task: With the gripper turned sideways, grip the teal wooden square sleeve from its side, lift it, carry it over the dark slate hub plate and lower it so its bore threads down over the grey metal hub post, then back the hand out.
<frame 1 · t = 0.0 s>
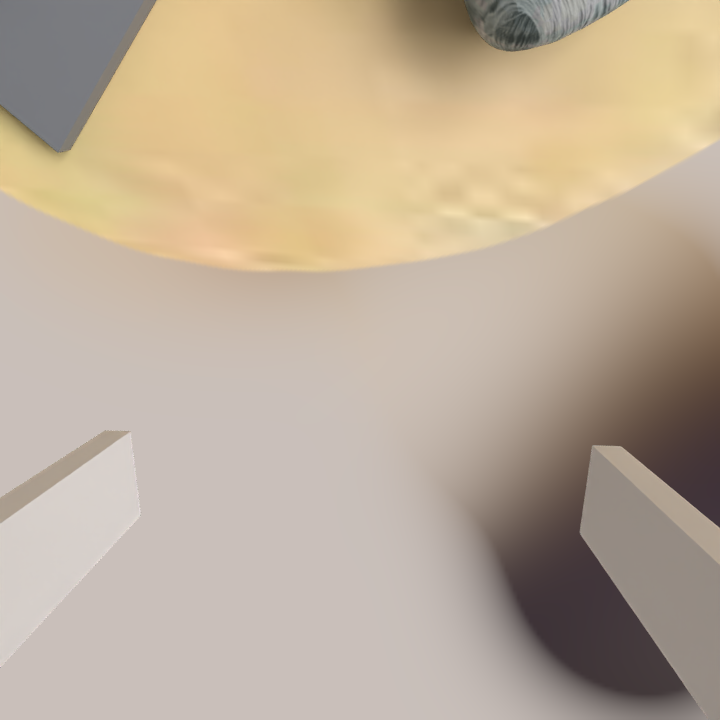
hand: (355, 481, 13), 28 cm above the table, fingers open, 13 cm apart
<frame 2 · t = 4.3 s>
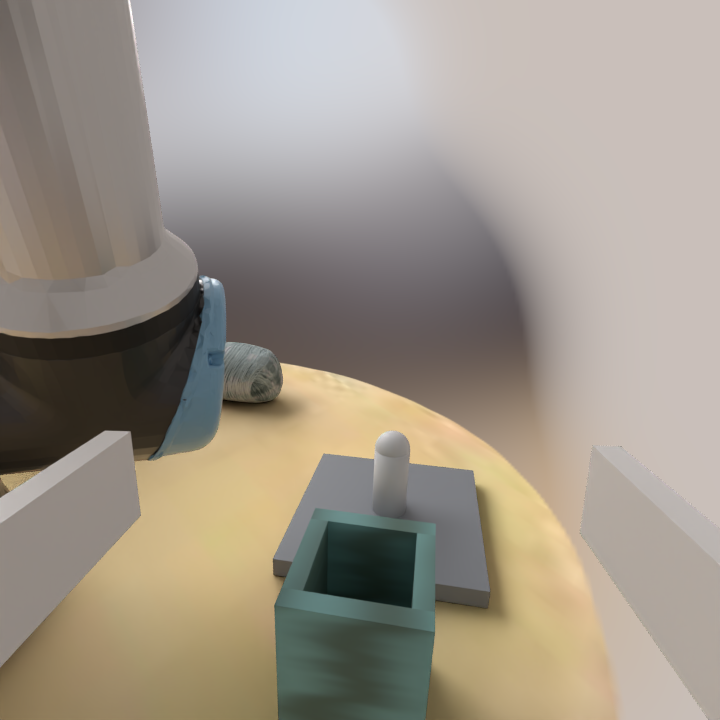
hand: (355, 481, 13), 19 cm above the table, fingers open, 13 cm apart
grey rounded piece: (238, 398, 67), on the table
sleeve: (358, 701, 25), on the table
hub plate: (388, 521, 41), on the table
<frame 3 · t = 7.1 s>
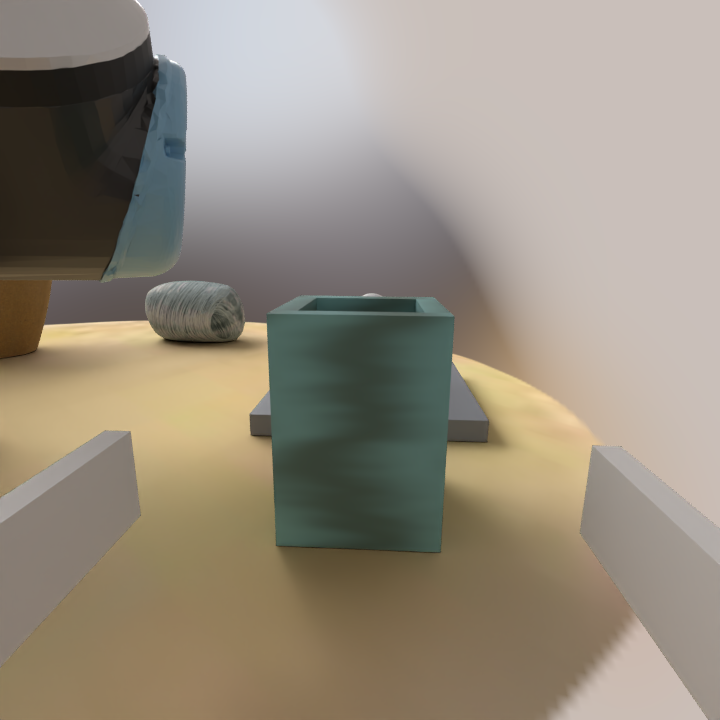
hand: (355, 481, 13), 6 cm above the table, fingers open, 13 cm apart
grey rounded piece: (197, 341, 62), on the table
plant pot: (1, 354, 54), on the table
sleeve: (361, 503, 22), on the table
hub plate: (370, 399, 38), on the table
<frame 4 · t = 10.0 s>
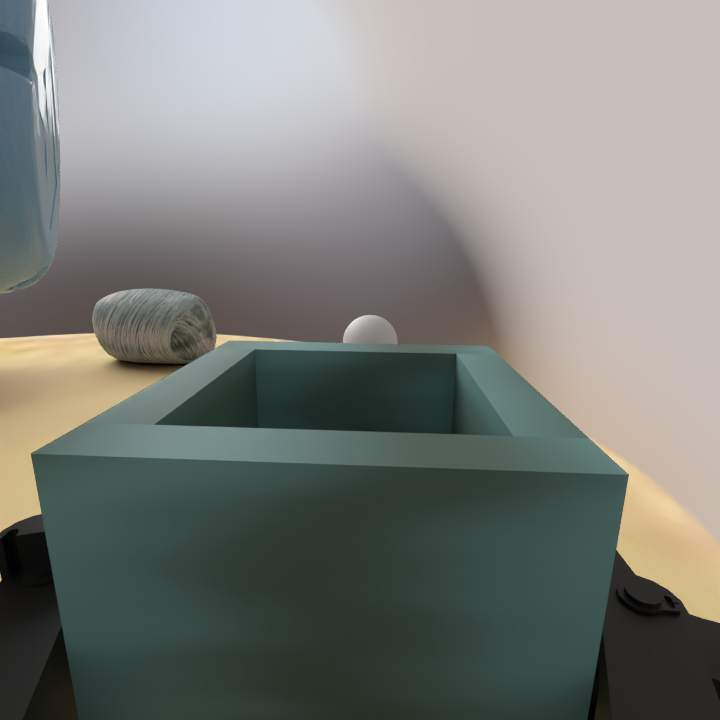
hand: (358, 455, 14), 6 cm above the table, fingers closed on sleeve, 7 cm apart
grey rounded piece: (158, 363, 51), on the table
hub plate: (368, 465, 26), on the table
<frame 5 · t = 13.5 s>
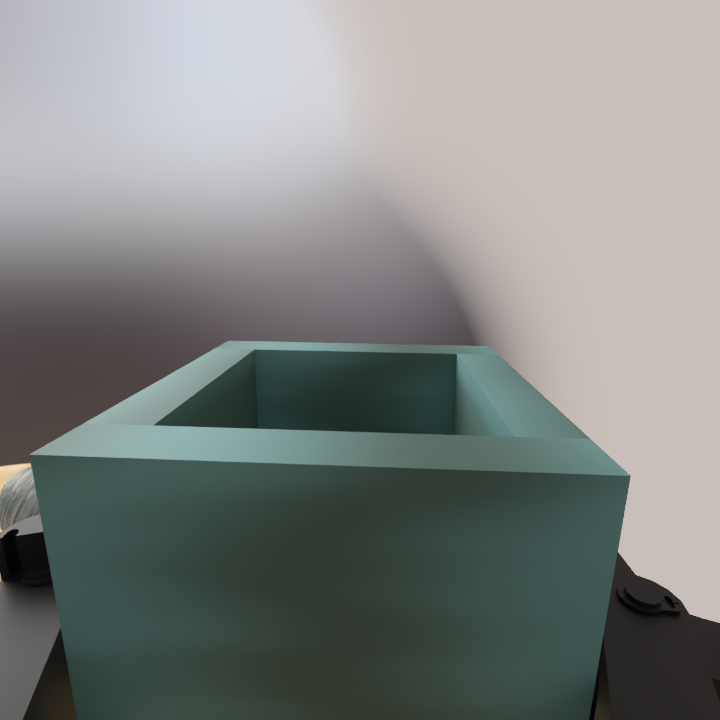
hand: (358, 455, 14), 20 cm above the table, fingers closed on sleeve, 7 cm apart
grey rounded piece: (87, 550, 41), on the table
when the fingers open (9 cm above the table, at t = 17.5 s): sleeve drops 1 cm, resting on hub plate.
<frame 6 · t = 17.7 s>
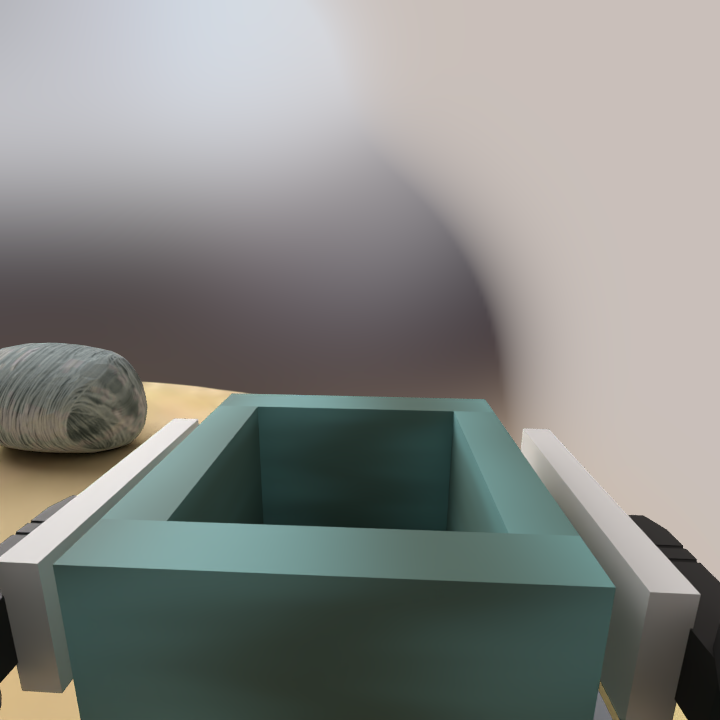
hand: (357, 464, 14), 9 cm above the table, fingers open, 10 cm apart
grey rounded piece: (65, 446, 36), on the table
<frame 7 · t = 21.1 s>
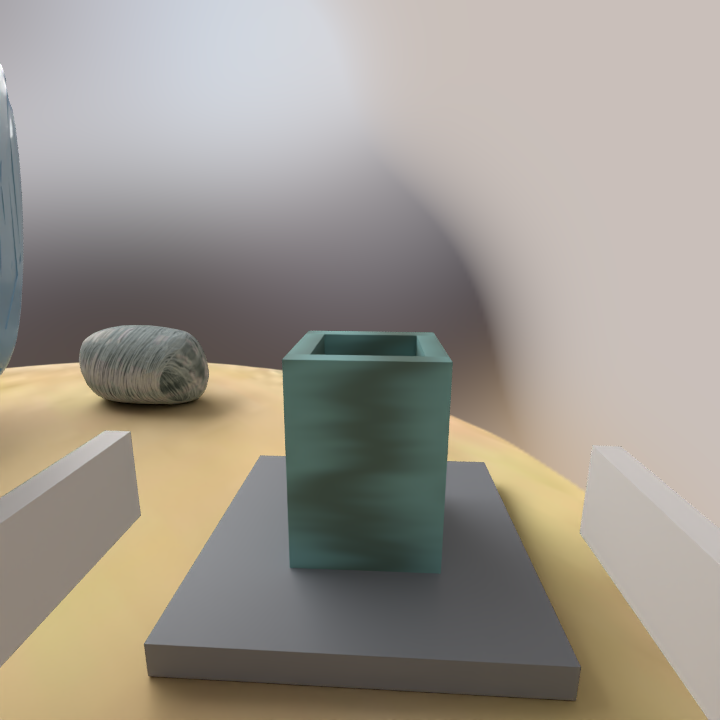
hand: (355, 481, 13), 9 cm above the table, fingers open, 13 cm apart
grey rounded piece: (148, 402, 49), on the table
sleeve: (367, 525, 24), point 1 cm above the table, touching hub plate
hub plate: (365, 549, 24), on the table
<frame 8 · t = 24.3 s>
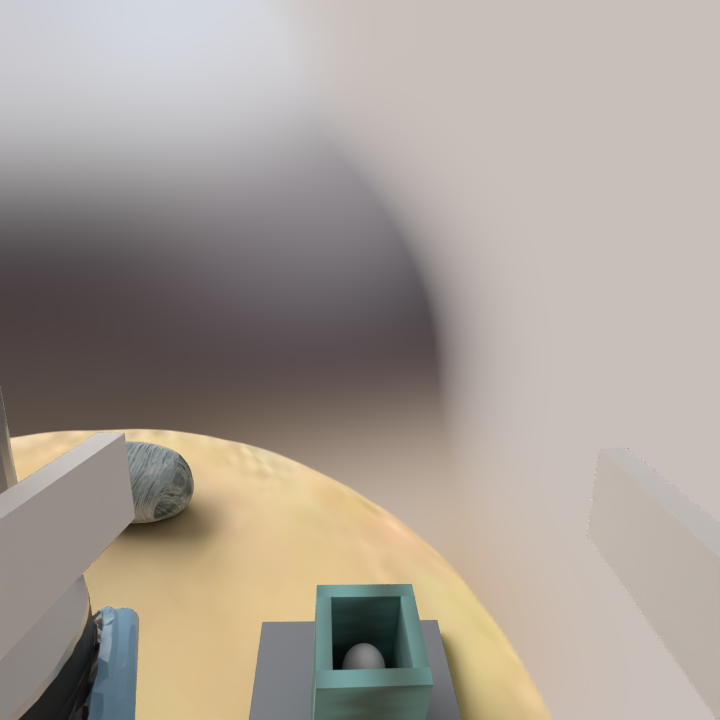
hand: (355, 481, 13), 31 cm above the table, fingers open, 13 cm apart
grey rounded piece: (136, 509, 54), on the table
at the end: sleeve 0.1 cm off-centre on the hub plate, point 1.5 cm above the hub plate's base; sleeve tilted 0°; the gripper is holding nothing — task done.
